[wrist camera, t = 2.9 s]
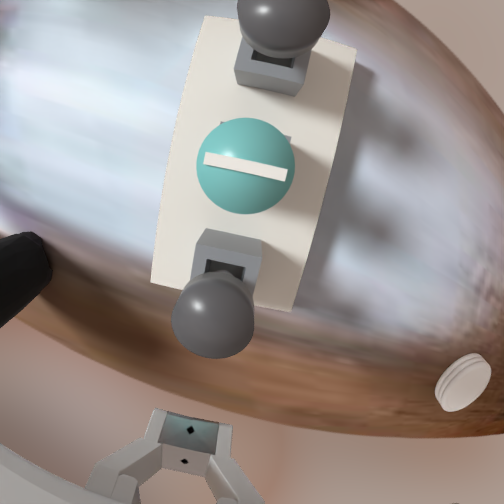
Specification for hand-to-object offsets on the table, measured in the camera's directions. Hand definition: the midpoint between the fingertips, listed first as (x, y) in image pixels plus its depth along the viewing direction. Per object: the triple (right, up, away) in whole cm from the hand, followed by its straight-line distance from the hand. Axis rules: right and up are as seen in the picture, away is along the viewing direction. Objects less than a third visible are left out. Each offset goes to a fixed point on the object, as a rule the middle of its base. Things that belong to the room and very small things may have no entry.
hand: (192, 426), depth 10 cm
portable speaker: (-26, +6, +22) cm, 34 cm away
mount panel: (+2, +15, +18) cm, 24 cm away
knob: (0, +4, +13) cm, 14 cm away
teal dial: (+2, +13, +10) cm, 16 cm away
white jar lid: (+35, -13, +27) cm, 47 cm away
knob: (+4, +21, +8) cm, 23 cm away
